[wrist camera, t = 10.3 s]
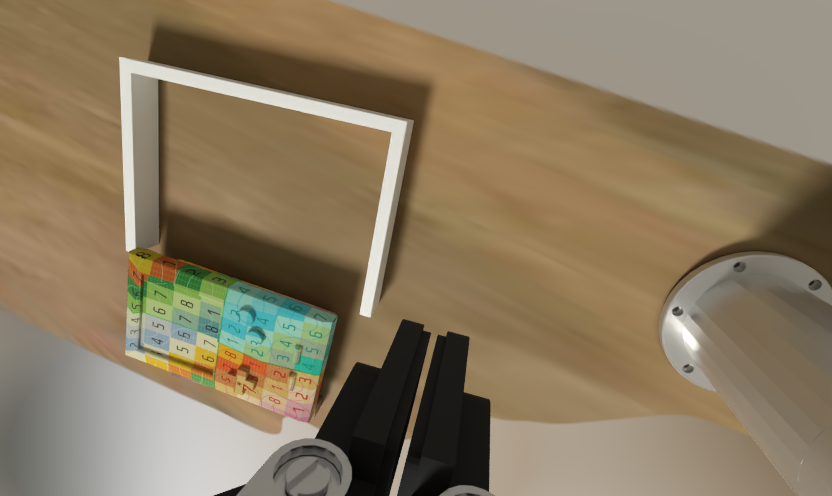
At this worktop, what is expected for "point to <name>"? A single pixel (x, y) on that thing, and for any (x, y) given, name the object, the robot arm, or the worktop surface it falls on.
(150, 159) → the frame
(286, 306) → the puzzle game
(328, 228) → the worktop surface
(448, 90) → the worktop surface
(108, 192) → the worktop surface
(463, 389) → the robot arm
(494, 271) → the worktop surface
